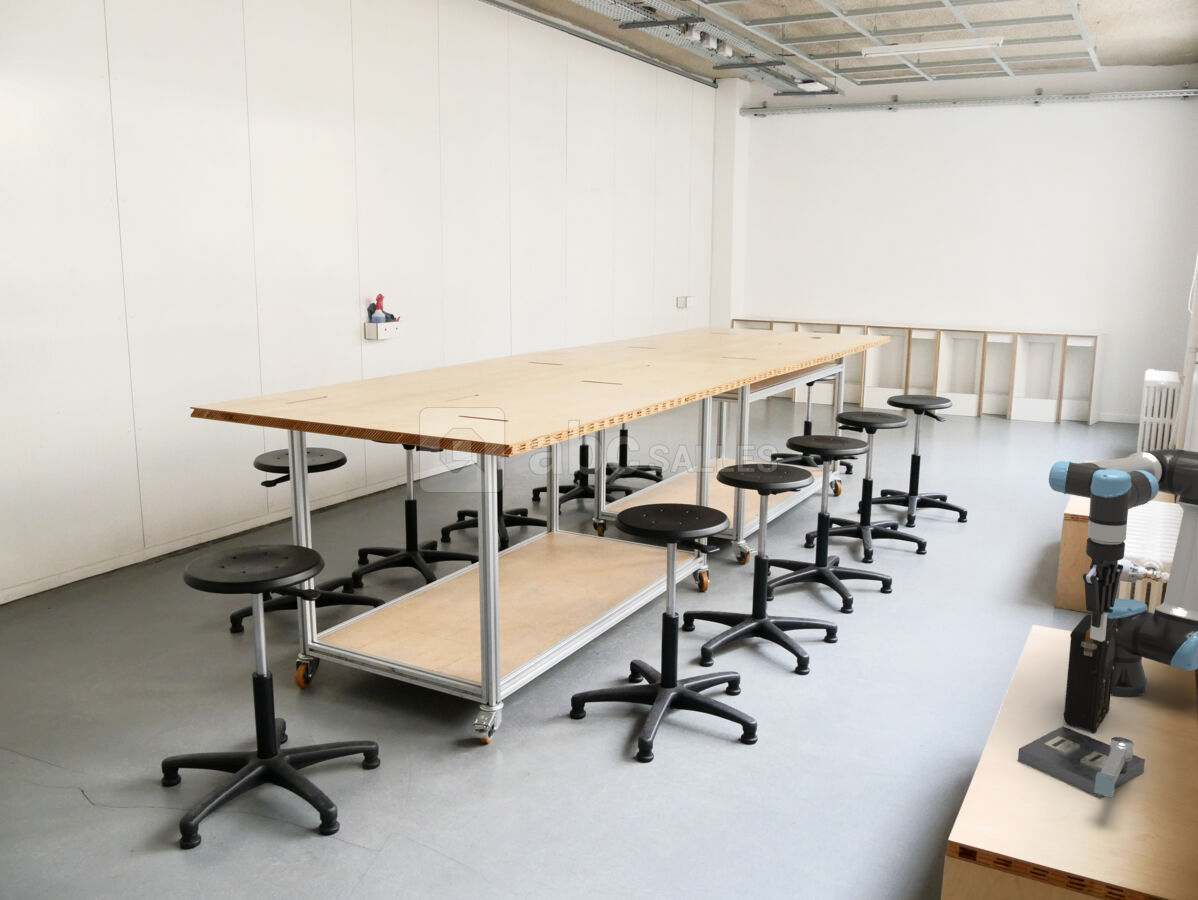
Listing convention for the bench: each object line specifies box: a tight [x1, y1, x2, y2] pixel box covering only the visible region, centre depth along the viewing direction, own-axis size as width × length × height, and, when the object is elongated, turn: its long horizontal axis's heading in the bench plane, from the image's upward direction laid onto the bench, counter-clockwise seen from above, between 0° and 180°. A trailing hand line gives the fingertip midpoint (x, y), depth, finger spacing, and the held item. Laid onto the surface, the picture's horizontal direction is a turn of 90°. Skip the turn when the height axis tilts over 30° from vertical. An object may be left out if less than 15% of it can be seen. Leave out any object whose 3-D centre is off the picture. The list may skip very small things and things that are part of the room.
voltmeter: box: [1062, 613, 1118, 733], centre depth 233 cm, size 16×9×25 cm, turn 141°
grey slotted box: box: [1017, 725, 1146, 799], centre depth 214 cm, size 18×20×6 cm
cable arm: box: [1094, 736, 1135, 798], centre depth 200 cm, size 4×21×4 cm, turn 142°
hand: (1097, 638), depth 216 cm, fingers closed
